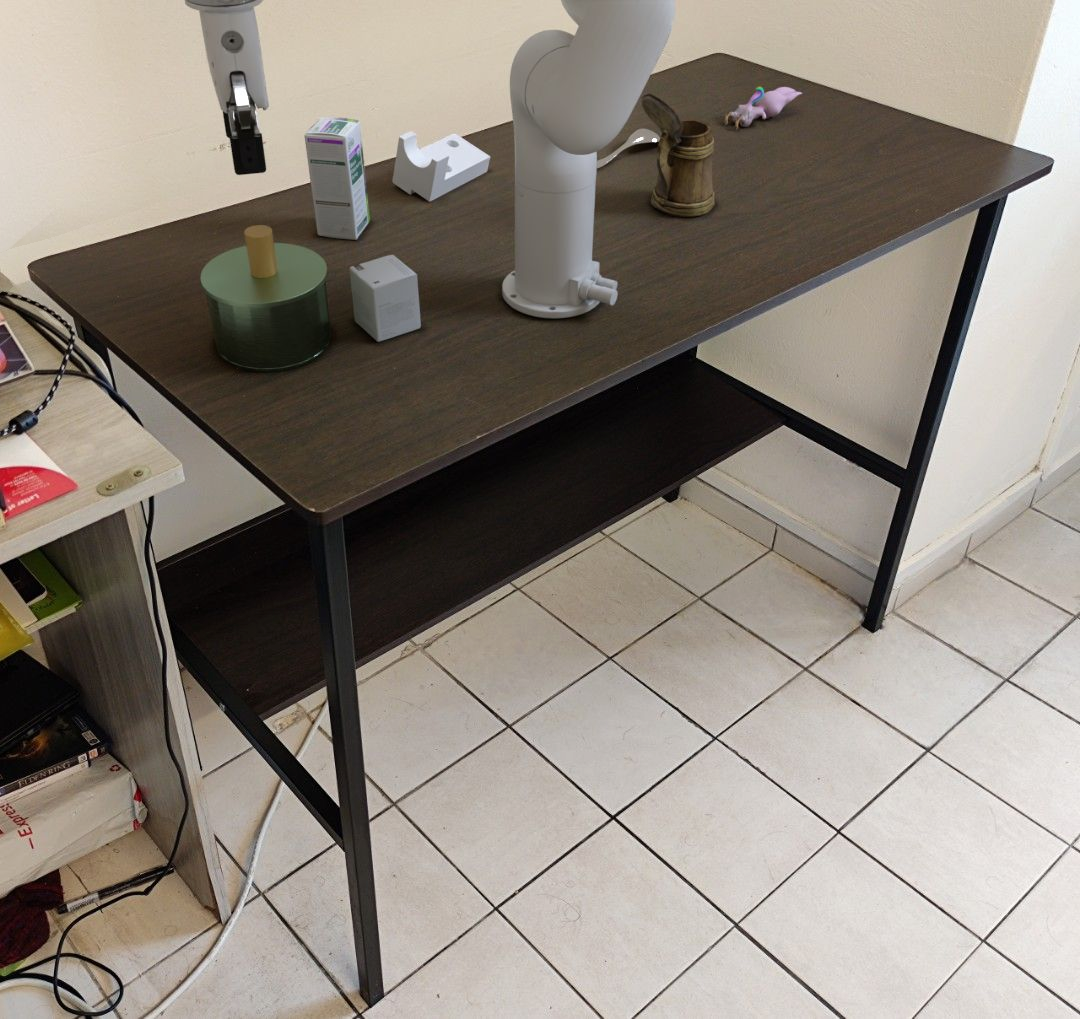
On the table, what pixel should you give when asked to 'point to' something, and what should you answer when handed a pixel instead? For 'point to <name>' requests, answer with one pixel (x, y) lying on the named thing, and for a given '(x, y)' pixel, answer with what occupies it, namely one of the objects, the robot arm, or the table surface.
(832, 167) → the table surface
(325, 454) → the table surface
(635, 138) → the metal spoon
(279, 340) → the tin
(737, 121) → the pink creature figurine
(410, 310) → the product carton
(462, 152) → the bracket
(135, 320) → the table surface
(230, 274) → the tin lid
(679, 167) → the wooden mug
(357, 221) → the syrup box
